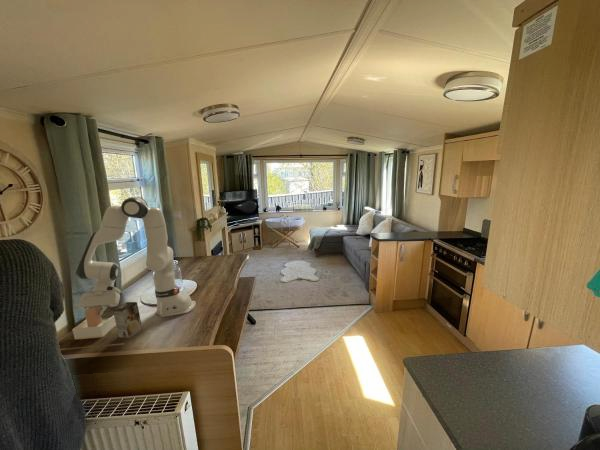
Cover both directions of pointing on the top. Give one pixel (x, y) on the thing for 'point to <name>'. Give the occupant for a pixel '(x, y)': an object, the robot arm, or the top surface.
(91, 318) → the terracotta block
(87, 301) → the robot arm
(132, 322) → the coffee box
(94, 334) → the tray
